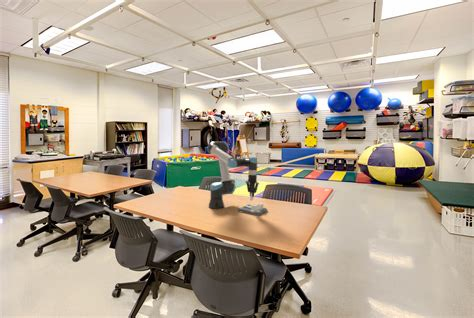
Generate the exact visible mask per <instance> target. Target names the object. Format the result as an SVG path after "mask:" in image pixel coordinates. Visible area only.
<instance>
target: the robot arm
mask: <svg viewBox="0 0 474 318" xmlns="http://www.w3.org/2000/svg"><path fill="white" fill-rule="evenodd" d="M229 146H230V145H229V144H228V143H227V142H226V141H222V140H221V141H211V142H209V143H208V145H207V148H206V149H207V151H208V153H209V154H210V155H212V156H215V157H217V158H218V164H219V165H218V166H219V171H220V178H221V180H220V181H217V182H216V181H215V182H212V183H211V184H210V188H209V189H210V199H209V203H208V208H209V209H214V210H216V209H217V210H219V209H224V208H225V203H224V200H223V196H226V195H231V194H233V193H235V191H236V184H235V182H234V181H233V179H232V178H231V176H230V171H229V170H230V169H235V168H244V167H245V168H248V179H247V181H245V183H246V188H247V193H249V198H250V201H251V202H252V201H254V197H255V194H256V193H257V191H258V187H259V186H260V183H259V182H258V181H257V179H258V176H257V173H258V157H256V156H249V158H245V157H240V158H235V157H233V156H232V155H230V154H228V152H229V151H230V147H229ZM229 168H230V169H229Z"/></svg>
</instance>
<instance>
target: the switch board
mask: <svg viewBox="0 0 474 318" xmlns="http://www.w3.org/2000/svg"><path fill="white" fill-rule="evenodd" d="M252 205H253V204H247V205H243V206H242V207H238V208H237V211H238V212H240V213H244V214H249V215H254V216H257V217H259V216H260V215H263V214H265V213H267V212H268V209H267V207H263V209H262V210H259V209H258V211H251V207H252Z"/></svg>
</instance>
